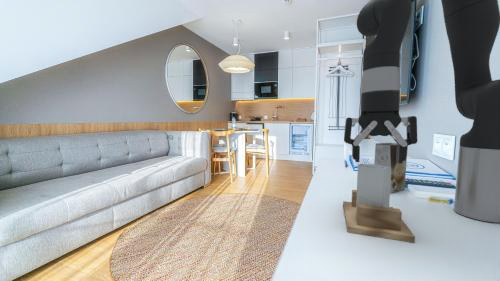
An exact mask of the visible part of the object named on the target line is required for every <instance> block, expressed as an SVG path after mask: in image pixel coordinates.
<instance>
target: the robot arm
mask: <svg viewBox="0 0 500 281" xmlns="http://www.w3.org/2000/svg"><path fill="white" fill-rule="evenodd" d="M415 1H416V0H369V1H368V2H367V3H366V4H365V5H364V6H363V7H362V8H361V10H360V11H359V13H358V14H357V19H356V28H357V31H358V32H359V34H361V35H362V36H364V37H371V38H372V37H374V36H375V38H374V39H373V40H372V41H371V42H370V43H368V45H366V46H365V48H364V49H363V54H362V55H363V56H362V75H361V81H360V82H361V83H360V116H359V117H358V118H354V117H346V118H345V125H344V136H343V142H344V143H346V144H349V145H351V146H352V147H351V151H352V152H351V157H352V160H354V161H355V163H360V158H361V156H360V154H361V152H360V151H361V150H360V149H361V146H360V144H361V143H362V142H363V140H364V139H366V138H367V136H370V137H378V136H382V137H389V136H390V138H392V139H393V140H394V143H397V144H398V146H397V148H396V162H397V163H398V164H402V163H403V161H405V160H406V148H407V146H411V145H416V144H417V143H418V118H417V116H415V115H408V116H404V117H401V115H400V97H401V96H400V95H401V86H402V84H401V73H400V60H401V59H400V58H401V56H400V55H401V53H400V50H401V47H402V43H403V41H404V38H405V35H406V31H407V28H408V25H409V22H410V19H411V14H412V3H414V2H415ZM440 1H441V7H442V11H443V13H442V14H443V20H444V25H445V31H446V35H447V39H448V44H449V49H450V50H449V51H450V57H451V62H452V68H453V74H454V75H453V78H454V96H455V106H456V109H457V111H458V113H459V114H460V115H461V116H462V117H464V118H466V119H468V120H471V121H472V120H473V122H472V126H471V128H470V129H469V130H468V131H467V132H466V133H463V134H462V135H461V136H460V138H459V150H458V159H457V161H458V162H457V171H456V181H455V182H456V183H455V192H454V193H455V194H454V202H453V210H454V212H456V213H457V214H459V215H461V216H464V217H467V218H471V219H474V220H477V221H482V222H489V223H494V224H495V223H496V224H497V223H500V79H495V80H493V79H492V75H491V69H490V59H491V53H492V50H493V48H494V44H495V42H496V39H497V36H498V33H499V29H500V7H499V6H500V5H499V0H440ZM401 123H402V125H403V127H405V128H406V138H403V136H402V134H401V133H400V132H399V131H398V129H397V127H399V125H401ZM356 124H359V126H360V128H361V130H360V131H359V132H358V133H357V135H356V136H355V138H352V137H351V136H352V128H354V127H355V126H356Z"/></svg>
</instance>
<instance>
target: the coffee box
mask: <svg viewBox="0 0 500 281" xmlns="http://www.w3.org/2000/svg"><path fill="white" fill-rule="evenodd" d="M397 146H398V144H397V143H396V142H379V143H377V142H376V143H375V147H374V148H375V149H374V163H373V164H376V165H383V166H389V167H391V184H390V194H393V193H397V192H400V190H401V191H403V190H402V189H404V190H405V189H406V188H405V187H406V175H407V174H406V173H407V162H408V161H407V159H408V148H409V147H408V146H409V145H408V146H407V148H406V160H405V161H403V163H402V164H398V163H397V162H396V148H397ZM404 185H405V187H404Z"/></svg>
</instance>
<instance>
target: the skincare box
mask: <svg viewBox="0 0 500 281" xmlns="http://www.w3.org/2000/svg"><path fill="white" fill-rule="evenodd" d="M390 184H391V167H389V166H383V165H376V164H374V163H370V162H363V163H360V164H358V165H357V179H356V190H357V202H356V213H357V204H363V205H371V206H380V207H388V208H389V207H390V200H391V197H390V196H391V193H390Z"/></svg>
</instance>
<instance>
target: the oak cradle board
mask: <svg viewBox="0 0 500 281" xmlns="http://www.w3.org/2000/svg"><path fill="white" fill-rule="evenodd" d="M356 202H357V189H352V190H351V201H344V200H343V201H342V208H343V213H344V214H343V215H344V218H345V225H346V226H345V227H346V230H347V231H346V232H347V233H349V234H350V233H352V234H357V235H363V236H370V237H377V238H383V239H390V240H395V241H400V242H401V241H403V242H406V243H407V242H408V243H414V244H415V242H416V236H415V234H414V233H413V232H412V230H411V229H410V228H409V227H408V225H407V224H406V222H405V221H404V220H403V219H402V218H403V217H402V215H403V211H401V210H400V208H394V207H393V206H389V208H388V207H380V206H371V205H363V204H357V213H356Z"/></svg>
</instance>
